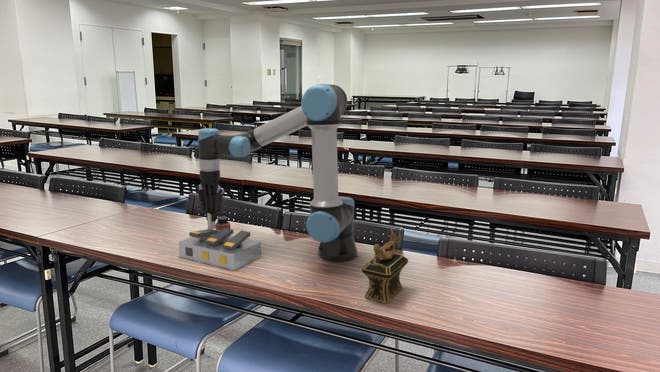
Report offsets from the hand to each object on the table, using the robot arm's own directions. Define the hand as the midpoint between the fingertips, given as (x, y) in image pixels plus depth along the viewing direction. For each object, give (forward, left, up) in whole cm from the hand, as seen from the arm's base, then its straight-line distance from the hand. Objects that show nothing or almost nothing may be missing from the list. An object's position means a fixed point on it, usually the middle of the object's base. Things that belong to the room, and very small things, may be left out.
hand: (211, 228), depth 182 cm
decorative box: (-74, +2, -9) cm, 74 cm away
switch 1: (0, +5, -1) cm, 5 cm away
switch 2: (-8, +5, -1) cm, 9 cm away
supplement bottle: (0, -7, -9) cm, 11 cm away
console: (-8, +5, -9) cm, 13 cm away
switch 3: (-16, +5, -1) cm, 17 cm away
